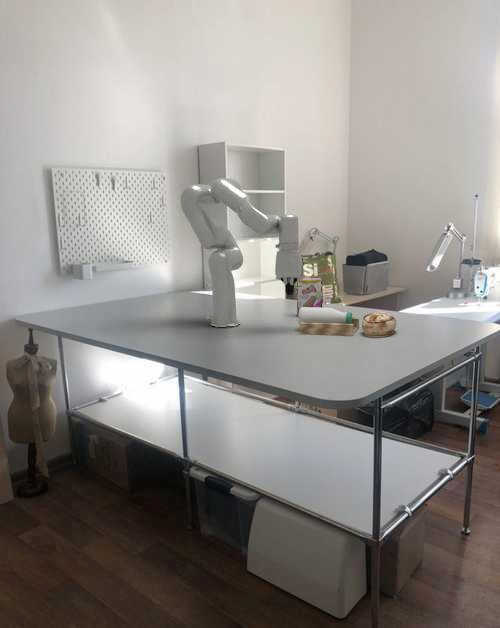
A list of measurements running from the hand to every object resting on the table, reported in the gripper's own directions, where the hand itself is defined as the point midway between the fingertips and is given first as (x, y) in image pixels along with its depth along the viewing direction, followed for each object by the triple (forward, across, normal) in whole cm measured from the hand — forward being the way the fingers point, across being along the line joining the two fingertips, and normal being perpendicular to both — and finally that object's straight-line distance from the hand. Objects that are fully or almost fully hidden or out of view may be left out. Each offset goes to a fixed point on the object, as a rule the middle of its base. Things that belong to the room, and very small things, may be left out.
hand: (289, 294), depth 209 cm
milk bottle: (+9, +4, +1) cm, 10 cm away
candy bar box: (+14, 0, +29) cm, 32 cm away
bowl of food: (+14, +34, -1) cm, 37 cm away
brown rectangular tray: (+14, +16, 0) cm, 21 cm away
